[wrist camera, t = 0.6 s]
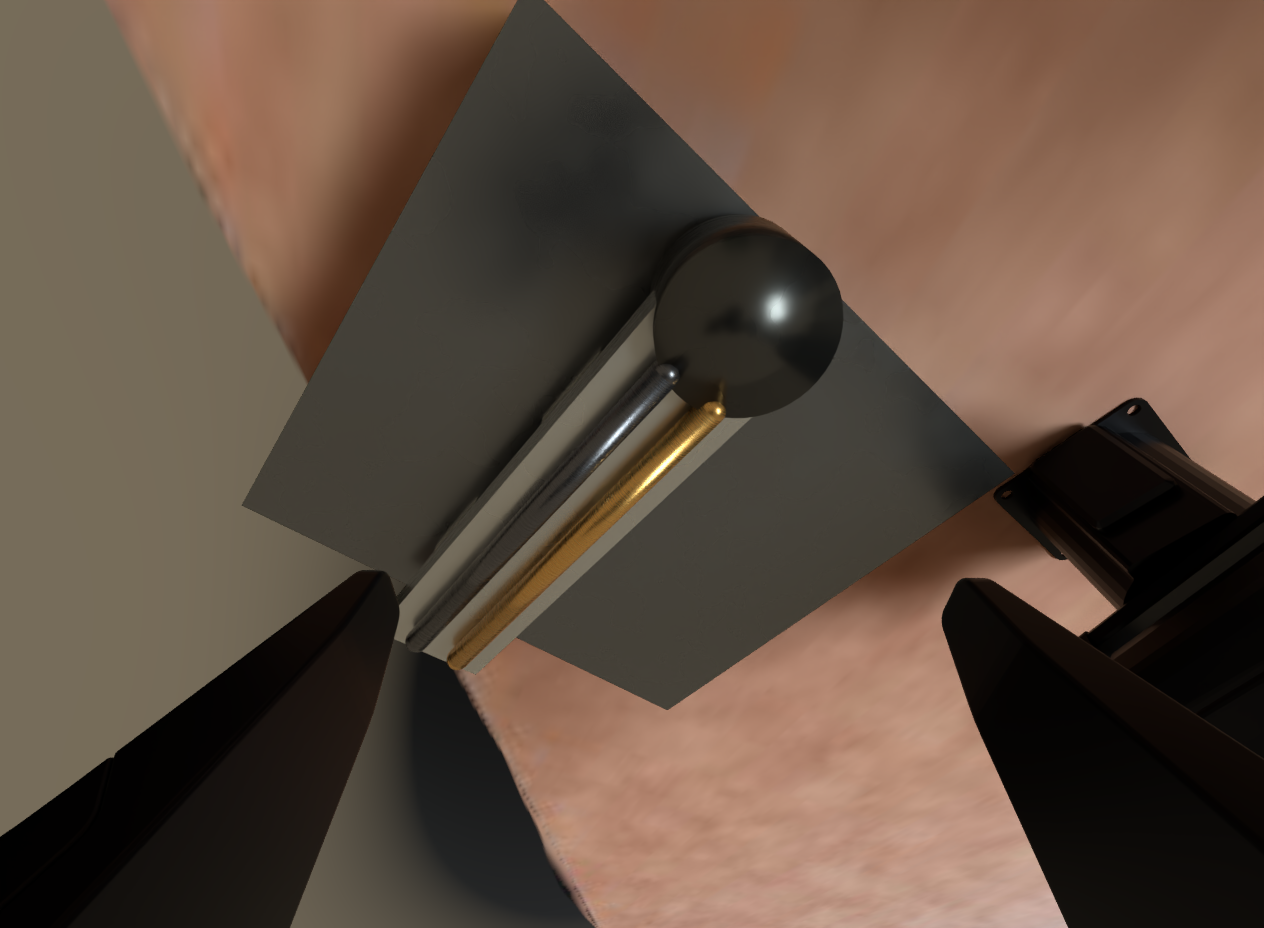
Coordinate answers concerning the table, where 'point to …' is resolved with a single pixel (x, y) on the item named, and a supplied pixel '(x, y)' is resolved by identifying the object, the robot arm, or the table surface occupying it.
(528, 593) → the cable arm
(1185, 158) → the table surface
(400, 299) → the grey flat block
